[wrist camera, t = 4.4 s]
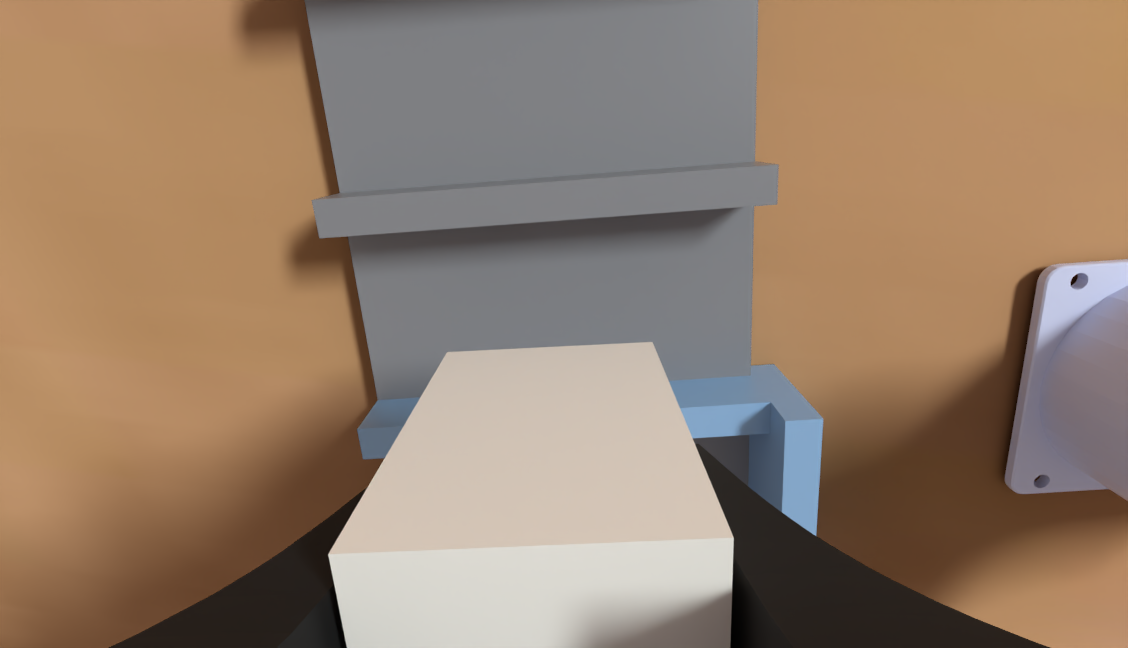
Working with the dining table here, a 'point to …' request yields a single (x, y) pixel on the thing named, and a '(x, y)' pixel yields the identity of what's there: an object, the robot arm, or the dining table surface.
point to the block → (539, 512)
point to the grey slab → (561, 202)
